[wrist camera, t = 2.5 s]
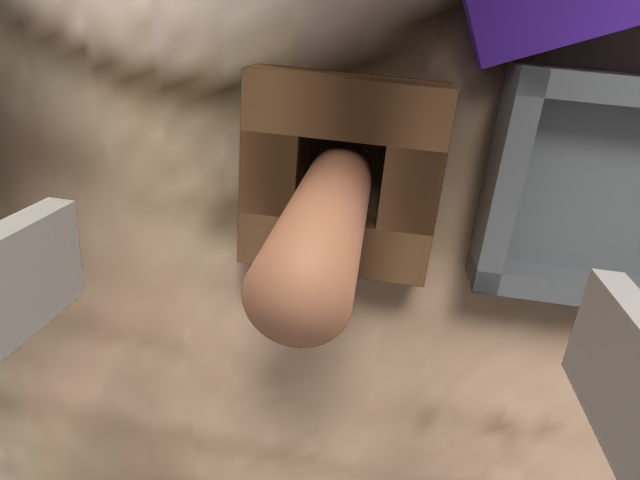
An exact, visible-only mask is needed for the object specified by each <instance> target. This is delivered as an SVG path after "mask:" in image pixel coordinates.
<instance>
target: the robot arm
mask: <svg viewBox="0 0 640 480" xmlns="http://www.w3.org/2000/svg"><path fill="white" fill-rule="evenodd" d="M82 294H84V284H83V274H82V264H81V254H80V244H79V233H78V223H77V213H76V203H75V201H74V200H66V199H59V198H51V197H47V198H45V199H43V200H41V201H39V202H37V203H35V204H33V205H31V206H28V207H26V208H24V209H22V210H20V211H18V212H16V213H14V214H12V215H10V216H8V217H5V218H3V219H1V220H0V363H1V362H2V361H3V360H4V359H6V358H7V357H8V356H9V355H10V354H12V353H13V352H14V351H15V350H16V349H18V348H19V347H20V346H21V345H22V344H24V343H25V342H26V341H27V340H28V339H30V338H31V337H32V336H33V335H34V334H36V333H37V332H38V331H39V330H40V329H42V328H43V327H44V326H45V325H46V324H48V323H49V322H50V321H51V320H52V319H54V318H55V317H56V316H57V315H58V314H60V313H61V312H62V311H63V310H64V309H66V308H67V307H68V306H69V305H70V304H72V303H73V302H74V301H75V300H76V299H78V298H79V297H80V296H81V295H82ZM562 366H563V368H564V370H565V372H566V374H567V376H568V379H569V381H570V383H571V385H572V387H573V389H574V391H575V393H576V395H577V397H578V400H579V402H580V404H581V406H582V408H583V410H584V412H585V414H586V416H587V418H588V421H589V423H590V425H591V427H592V429H593V431H594V433H595V435H596V437H597V439H598V441H599V444H600V446H601V448H602V450H603V452H604V454H605V456H606V458H607V460H608V462H609V465H610V467H611V469H612V471H613V473H614V475H615V477H616V479H617V480H640V289H639V288H638V287H637V285H636V284H635V283H634V282H633V281H632V280H631V279H630V278H629V277H628V276H627V275H626V273H624V272H616V271H608V270H601V269H593V268H591V271H590V274H589V277H588V281H587V284H586V287H585V290H584V293H583V297H582V300H581V303H580V306H579V310H578V313H577V316H576V319H575V322H574V326H573V329H572V332H571V335H570V339H569V342H568V345H567V348H566V351H565V355H564V358H563V361H562Z"/></svg>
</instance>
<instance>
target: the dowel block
mask: <svg viewBox="0 0 640 480" xmlns="http://www.w3.org/2000/svg"><path fill="white" fill-rule="evenodd" d="M458 95H459V89H458V88H457V87H456V86H455V85H454V84H453V83H450V82H440V81H430V80H420V79H410V78H400V77H390V76H379V75H369V74H359V73H349V72H339V71H329V70H319V69H309V68H298V67H288V66H278V65H268V64H254V65H251V66H248V67H244V68H242V76H241V119H240V162H239V206H238V249H237V262H240V263H248V264H252V263H253V261H254V260H255V258H256V256H257V255H258V253H259V251H260V250H261V248H262V246H263V245H264V243H265V241H266V240H267V238H268V236H269V234H270V233H271V231H272V229H273V228H274V226H275V224H276V223H277V221H278V219H279V218H280V216H281V214H282V213H283V211H284V209H285V208H286V206H287V204H288V203H289V201H290V199H291V198H292V196H293V194H294V193H295V191H296V189H297V188H298V186H299V184H300V182H301V181H302V179H303V177H304V176H305V164H306V150H307V137H308V138H317V139H326V140H335V141H344V142H353V143H362V144H371V145H380V146H386V150H385V158H384V165H383V173H382V180H381V188H380V195H379V203H378V209H372V208H368V210H367V217H366V223H365V230H364V237H363V243H362V250H361V257H360V263H359V270H358V276H357V278H360V279H367V280H375V281H382V282H390V283H397V284H404V285H412V286H419V287H424V284H425V278H426V272H427V267H428V261H429V256H430V250H431V245H432V239H433V234H434V228H435V222H436V217H437V211H438V206H439V200H440V195H441V189H442V183H443V178H444V172H445V167H446V161H447V156H448V150H449V145H450V139H451V133H452V128H453V122H454V117H455V111H456V106H457V100H458Z"/></svg>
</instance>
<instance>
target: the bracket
mask: <svg viewBox="0 0 640 480" xmlns="http://www.w3.org/2000/svg"><path fill="white" fill-rule="evenodd" d="M462 2H463V6H464V11H465V15H466V19H467V24H468V28H469V33H470V37H471V42H472V46H473V50H474V55H475V59H476V64H477V67H478V68H480V69H485V68H488V67H492V66H495V65H499V64H503V63H506V62H510V61H513V60H517V59H521V58H524V57H528V56H531V55H535V54H539V53H542V52H546V51H549V50H553V49H557V48H560V47H564V46H567V45H571V44H575V43H578V42H582V41H585V40H589V39H593V38H596V37H600V36H603V35H607V34H611V33H614V32H618V31H621V30H625V29H629V28H632V27H636V26H639V25H640V0H462Z"/></svg>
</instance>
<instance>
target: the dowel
mask: <svg viewBox="0 0 640 480" xmlns="http://www.w3.org/2000/svg"><path fill="white" fill-rule="evenodd" d="M373 169H374V166H373V160H372V157H371V155H370V153H369V152H368V150H367V149H366V148H365V147H364V146H363V145H362V144H360V143H353V142H344V141H335V140H332V141H330V142H328V143H327V144H325V145H324V146H323V147H322V148H321V149H320V151H319V152H318V154H317V156H316V157H315V159H314V161H313V162H312V164H311V166H310V167H309V169H308V171H307V172H306V174H305V176H304V177H303V179H302V181H301V182H300V184H299V186H298V188H297V189H296V191H295V193H294V194H293V196H292V198H291V199H290V201H289V203H288V204H287V206H286V208H285V209H284V211H283V213H282V214H281V216H280V218H279V219H278V221H277V223H276V224H275V226H274V228H273V229H272V231H271V233H270V234H269V236H268V238H267V240H266V241H265V243H264V245H263V246H262V248H261V250H260V251H259V253H258V255H257V256H256V258H255V260H254V261H253V263H252V265H251V266H250V268H249V270H248V271H247V273H246V275H245V278H244V280H243V284H242V292H241V293H242V303H243V307H244V310H245V312H246V314H247V316H248V318H249V320H250V321H251V323H252V324H253V325H254V326H255V328H256V329H257V330H259V331H260V332H261V333H262V334H263V335H265V336H266V337H267V338H269V339H271V340H272V341H275V342H277V343H279V344H282V345H285V346H290V347H296V348H309V347H315V346H319V345H322V344H324V343H327V342H329V341H330V340H332V339H334V338H335V337H336V336H338V335H339V334H340V333H341V332H342V331H343V329H344V328H345V327H346V325H347V323H348V322H349V320H350V317H351V314H352V309H353V303H354V296H355V290H356V283H357V276H358V270H359V263H360V257H361V250H362V243H363V237H364V230H365V223H366V217H367V210H368V204H369V197H370V190H371V184H372V177H373Z"/></svg>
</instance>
